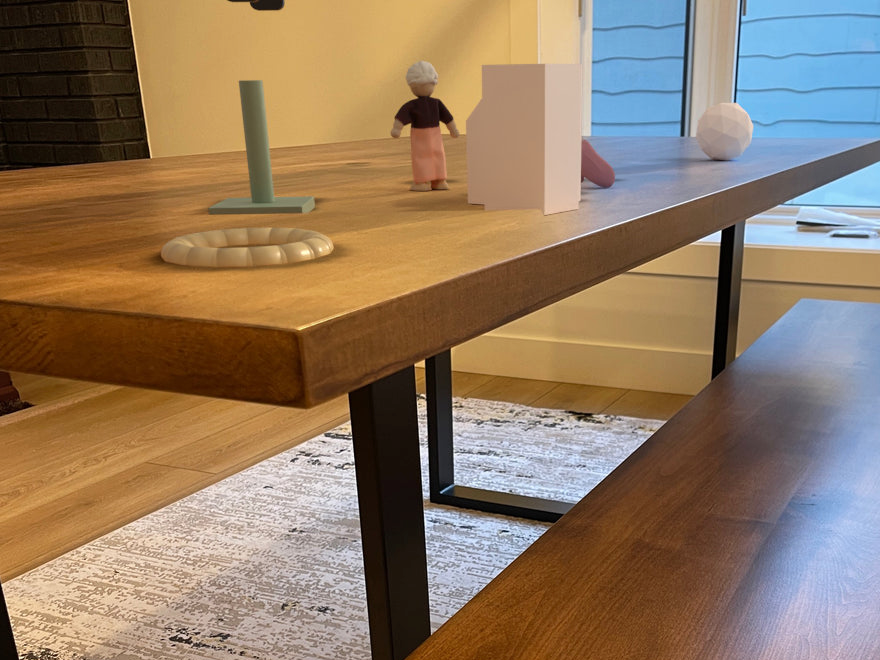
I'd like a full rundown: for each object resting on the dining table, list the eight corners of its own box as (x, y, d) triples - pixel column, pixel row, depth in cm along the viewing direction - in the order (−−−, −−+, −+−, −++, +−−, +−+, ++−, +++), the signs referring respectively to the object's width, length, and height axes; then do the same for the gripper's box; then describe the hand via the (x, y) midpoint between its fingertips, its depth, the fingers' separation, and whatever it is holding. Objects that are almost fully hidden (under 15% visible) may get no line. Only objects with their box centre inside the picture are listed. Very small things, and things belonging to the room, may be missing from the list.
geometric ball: (733, 181, 141) (755, 134, 135) (681, 159, 142) (700, 112, 135) (746, 150, 145) (768, 103, 139) (696, 128, 146) (715, 81, 139)
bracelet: (143, 282, 59) (138, 252, 59) (187, 254, 69) (183, 227, 68) (322, 279, 60) (320, 248, 59) (341, 251, 69) (339, 224, 69)
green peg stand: (209, 219, 86) (191, 80, 82) (229, 208, 93) (213, 80, 89) (303, 218, 86) (290, 79, 82) (315, 207, 94) (304, 79, 89)
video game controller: (543, 195, 115) (519, 138, 111) (574, 175, 116) (551, 118, 112) (588, 204, 107) (563, 143, 103) (621, 182, 108) (598, 120, 104)
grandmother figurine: (444, 185, 111) (439, 61, 106) (465, 188, 109) (461, 60, 104) (386, 190, 107) (378, 61, 102) (407, 193, 104) (400, 60, 99)
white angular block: (544, 215, 87) (545, 63, 82) (445, 206, 93) (440, 65, 88) (609, 203, 94) (613, 64, 90) (514, 196, 101) (513, 65, 96)
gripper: (186, -275, 63) (220, 14, 69) (115, -368, 50) (165, -2, 56) (307, -275, 63) (329, 12, 69) (268, -367, 50) (300, -3, 56)
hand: (256, 6), depth 63 cm, fingers open, 8 cm apart
